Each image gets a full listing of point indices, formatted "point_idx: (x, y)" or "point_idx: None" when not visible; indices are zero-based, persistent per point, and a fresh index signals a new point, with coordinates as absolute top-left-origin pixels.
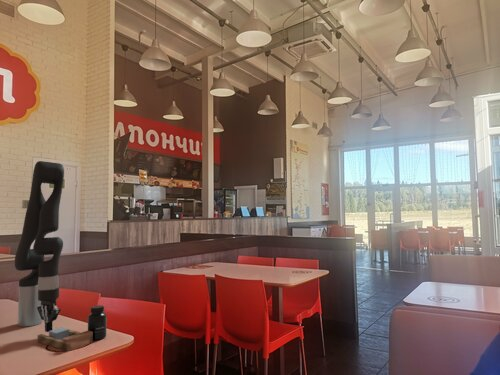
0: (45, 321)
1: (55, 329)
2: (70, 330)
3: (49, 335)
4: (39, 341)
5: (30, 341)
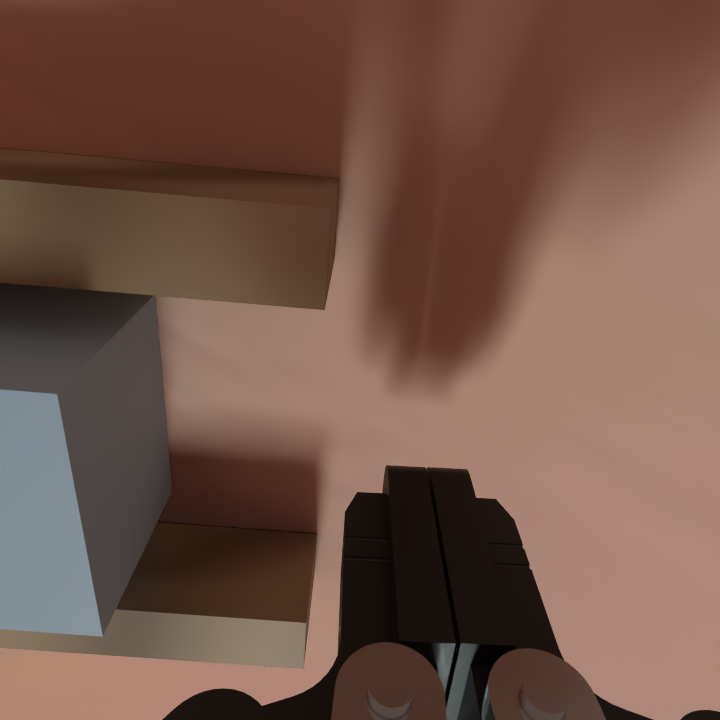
0: (485, 675)
1: (66, 525)
2: (7, 633)
3: (81, 342)
4: (254, 176)
5: (521, 132)
